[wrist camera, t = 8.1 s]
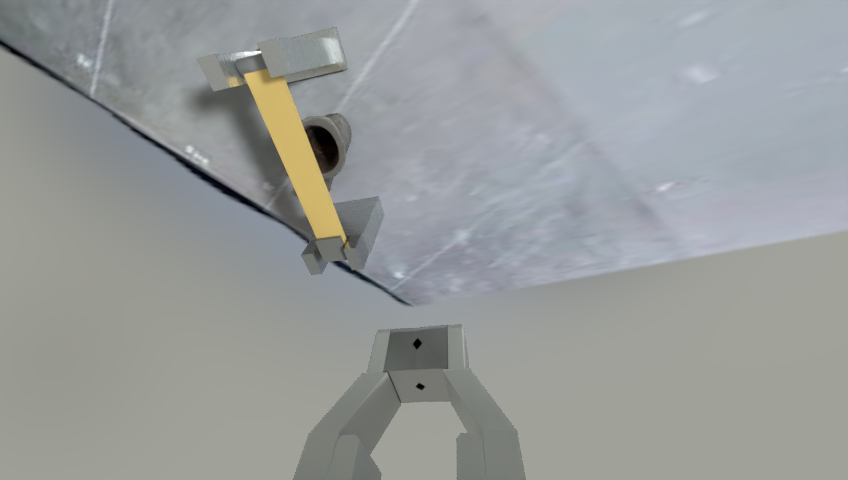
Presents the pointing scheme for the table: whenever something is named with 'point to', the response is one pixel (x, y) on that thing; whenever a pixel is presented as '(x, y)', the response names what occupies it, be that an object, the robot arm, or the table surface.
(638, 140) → the table surface
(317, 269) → the stop block
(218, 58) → the grey slotted stand
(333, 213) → the yellow bar
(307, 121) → the pipe
